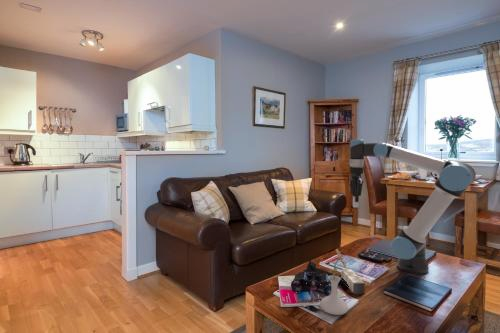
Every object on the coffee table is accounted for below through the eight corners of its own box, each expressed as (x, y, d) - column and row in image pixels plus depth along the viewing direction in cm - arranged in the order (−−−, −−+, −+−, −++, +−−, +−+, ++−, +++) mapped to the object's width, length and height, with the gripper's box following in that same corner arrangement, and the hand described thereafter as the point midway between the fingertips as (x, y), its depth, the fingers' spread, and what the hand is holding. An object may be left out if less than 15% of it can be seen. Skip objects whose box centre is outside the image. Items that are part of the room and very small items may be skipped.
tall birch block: (364, 293, 133) (350, 278, 148) (364, 283, 132) (350, 269, 147) (354, 294, 132) (341, 278, 147) (354, 283, 132) (341, 269, 147)
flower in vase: (344, 321, 112) (345, 259, 110) (316, 312, 118) (316, 253, 116) (352, 305, 123) (353, 248, 121) (325, 297, 129) (326, 243, 127)
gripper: (345, 165, 171) (344, 205, 172) (355, 167, 158) (354, 209, 160) (357, 165, 171) (356, 204, 173) (368, 167, 158) (367, 209, 160)
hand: (355, 207), depth 166 cm, fingers closed
